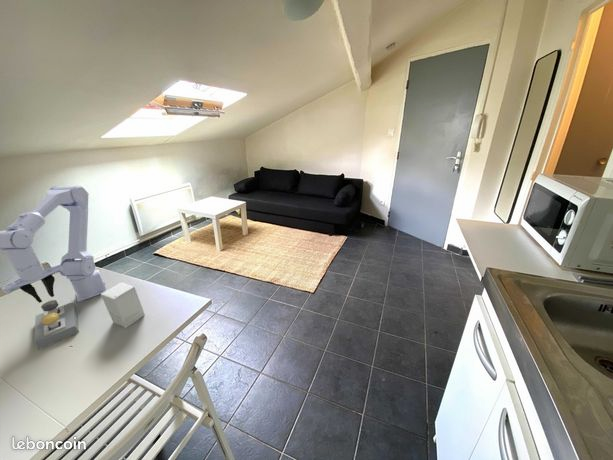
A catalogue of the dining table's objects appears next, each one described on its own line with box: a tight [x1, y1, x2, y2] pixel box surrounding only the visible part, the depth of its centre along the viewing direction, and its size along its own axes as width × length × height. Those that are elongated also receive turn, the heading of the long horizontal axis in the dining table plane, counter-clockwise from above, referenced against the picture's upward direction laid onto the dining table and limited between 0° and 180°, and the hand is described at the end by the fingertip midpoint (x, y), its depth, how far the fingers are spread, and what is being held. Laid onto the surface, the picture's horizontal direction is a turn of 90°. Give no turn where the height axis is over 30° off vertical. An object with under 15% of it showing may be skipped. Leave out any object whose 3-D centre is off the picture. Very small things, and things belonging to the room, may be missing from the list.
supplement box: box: [100, 281, 146, 329], centre depth 91 cm, size 7×7×13 cm
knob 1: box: [41, 299, 59, 314], centre depth 91 cm, size 4×4×5 cm
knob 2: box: [41, 313, 60, 330], centre depth 85 cm, size 4×4×5 cm
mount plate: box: [33, 301, 79, 350], centre depth 89 cm, size 10×16×4 cm, turn 42°
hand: (45, 298), depth 89 cm, fingers open, 3 cm apart
